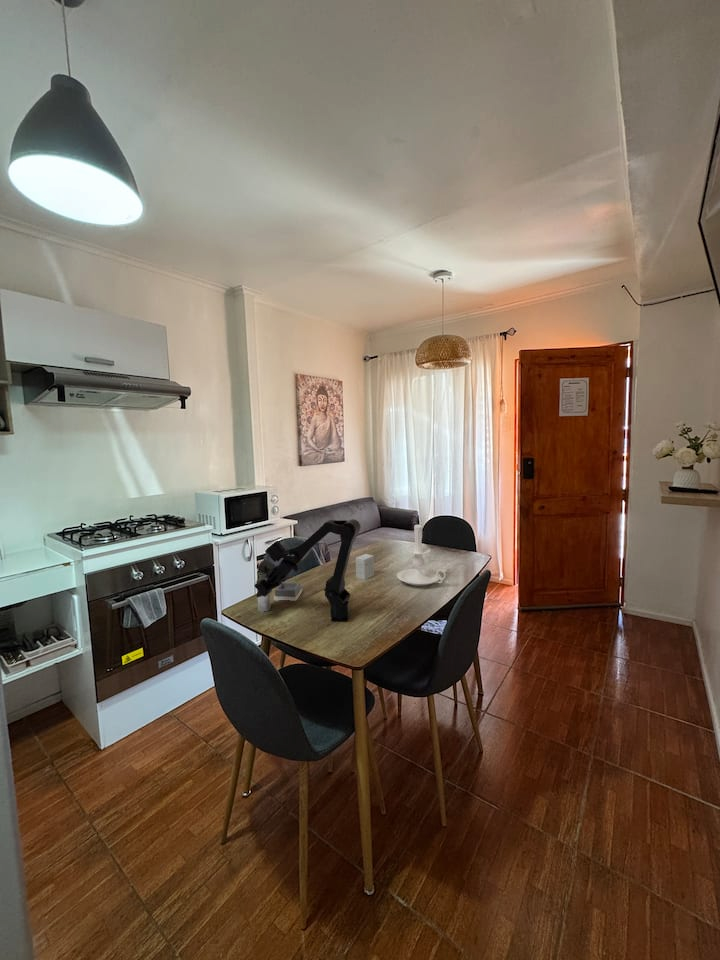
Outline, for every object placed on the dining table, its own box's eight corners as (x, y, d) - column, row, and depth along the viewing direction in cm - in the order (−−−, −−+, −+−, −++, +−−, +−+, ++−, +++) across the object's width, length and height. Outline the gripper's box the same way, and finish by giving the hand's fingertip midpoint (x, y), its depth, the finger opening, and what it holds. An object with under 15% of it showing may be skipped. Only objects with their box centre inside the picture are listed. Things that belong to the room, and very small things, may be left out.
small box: (366, 573, 205) (365, 553, 204) (374, 575, 201) (374, 555, 200) (355, 578, 199) (355, 557, 197) (364, 580, 195) (364, 559, 194)
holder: (302, 591, 184) (301, 582, 183) (296, 600, 174) (295, 590, 173) (281, 591, 185) (280, 581, 184) (273, 600, 175) (273, 590, 174)
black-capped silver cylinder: (272, 606, 168) (270, 578, 167) (268, 612, 163) (266, 582, 162) (260, 606, 169) (258, 578, 167) (256, 611, 164) (254, 582, 162)
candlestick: (436, 596, 174) (435, 533, 171) (388, 584, 189) (387, 526, 186) (456, 581, 190) (456, 523, 187) (411, 571, 205) (410, 518, 202)
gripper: (280, 548, 171) (259, 571, 176) (257, 562, 153) (234, 587, 158) (298, 567, 170) (276, 590, 174) (277, 584, 152) (253, 609, 157)
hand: (260, 593), depth 166 cm, fingers closed on black-capped silver cylinder, 5 cm apart
